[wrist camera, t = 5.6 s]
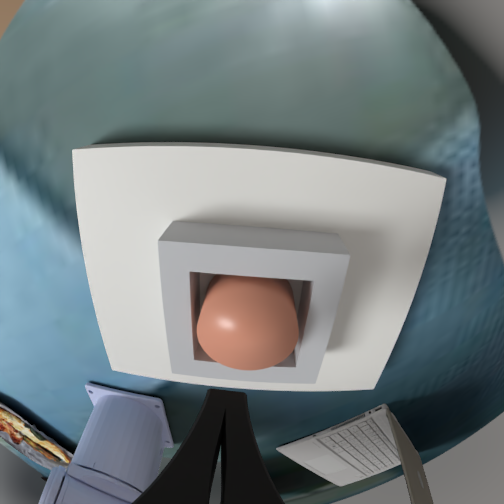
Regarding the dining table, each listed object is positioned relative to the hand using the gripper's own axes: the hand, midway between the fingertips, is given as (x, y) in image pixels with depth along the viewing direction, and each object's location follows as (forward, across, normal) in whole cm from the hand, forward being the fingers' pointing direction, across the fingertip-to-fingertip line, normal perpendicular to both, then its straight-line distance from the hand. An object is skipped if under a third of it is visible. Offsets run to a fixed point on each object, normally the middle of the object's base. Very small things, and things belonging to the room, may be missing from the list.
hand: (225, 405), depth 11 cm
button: (+7, -1, 0) cm, 7 cm away
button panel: (+9, -1, 0) cm, 9 cm away
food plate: (+10, +33, +38) cm, 51 cm away
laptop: (+10, -16, +22) cm, 30 cm away
